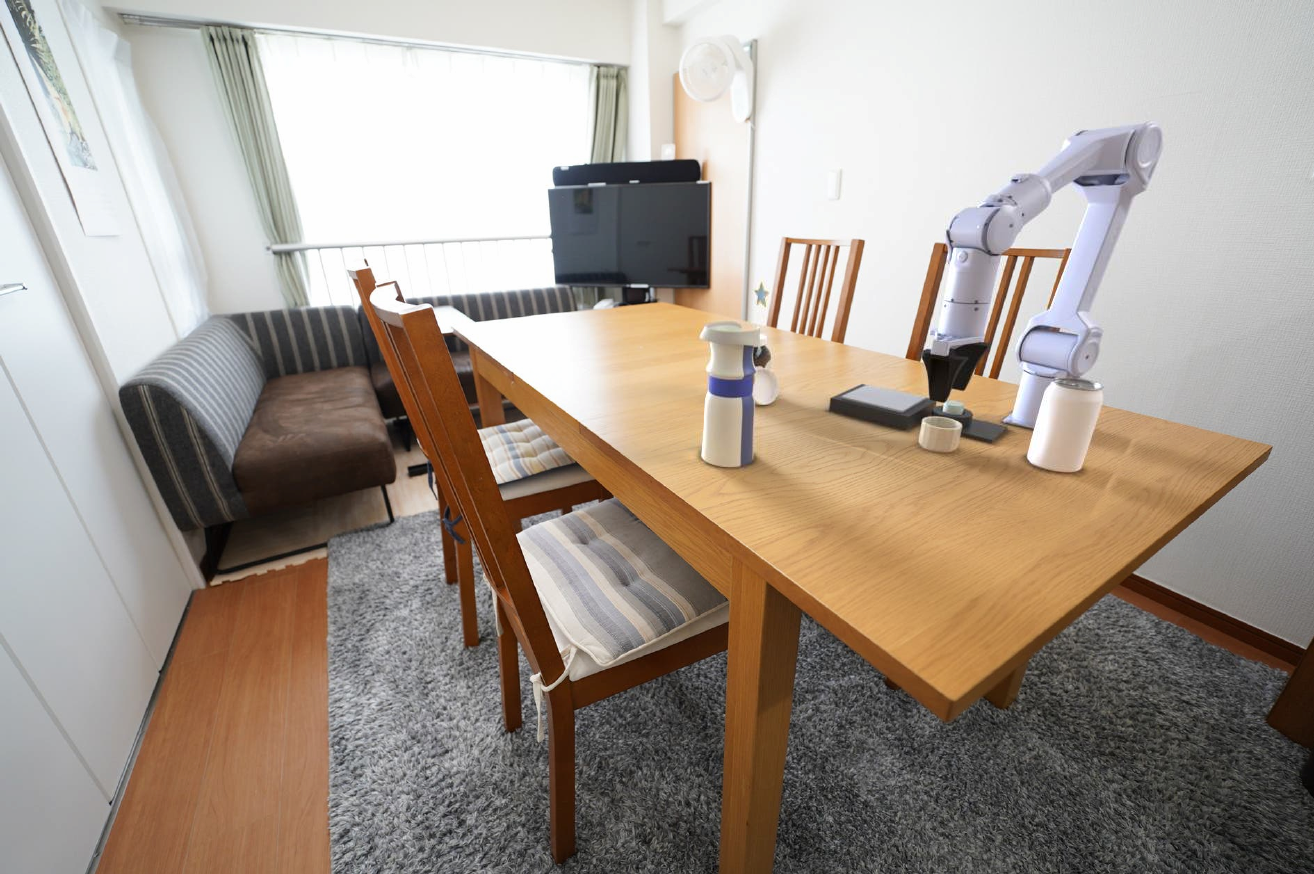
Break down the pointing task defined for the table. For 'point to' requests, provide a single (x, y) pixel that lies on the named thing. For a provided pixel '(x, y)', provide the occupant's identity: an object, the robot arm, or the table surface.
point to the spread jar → (764, 375)
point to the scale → (882, 406)
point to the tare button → (953, 407)
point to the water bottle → (730, 392)
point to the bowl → (940, 434)
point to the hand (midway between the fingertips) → (947, 394)
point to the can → (1065, 424)
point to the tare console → (973, 425)
